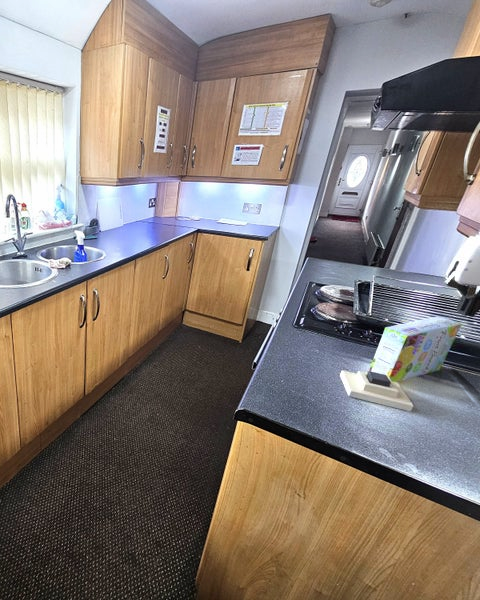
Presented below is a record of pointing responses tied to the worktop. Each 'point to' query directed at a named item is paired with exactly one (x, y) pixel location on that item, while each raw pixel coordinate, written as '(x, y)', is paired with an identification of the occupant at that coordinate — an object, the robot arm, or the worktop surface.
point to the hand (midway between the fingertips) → (464, 313)
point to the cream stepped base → (375, 391)
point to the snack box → (414, 348)
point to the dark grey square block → (378, 379)
